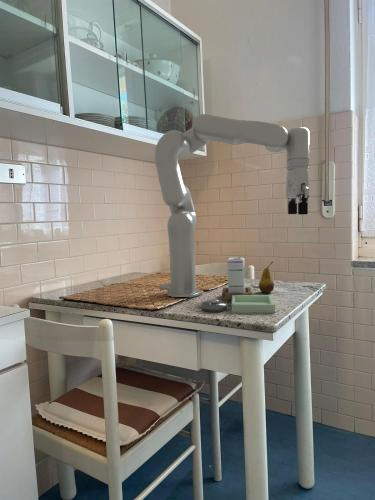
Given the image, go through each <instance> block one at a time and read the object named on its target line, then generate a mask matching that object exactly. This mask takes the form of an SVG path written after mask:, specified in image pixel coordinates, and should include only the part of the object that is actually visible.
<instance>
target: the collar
mask: <svg viewBox="0 0 375 500" xmlns="http://www.w3.org/2000/svg"><path fill="white" fill-rule="evenodd" d="M232 295H253V294H252V289H251V286H250V287H249V286H245V293H228V286H227V287H225V286H224V287H222V292H221V301H225V302H227V303H232Z"/></svg>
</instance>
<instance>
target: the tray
mask: <svg viewBox="0 0 375 500" xmlns="http://www.w3.org/2000/svg"><path fill="white" fill-rule="evenodd" d="M231 313H243V314H244V313H251V314H255V313H256V314H257V313H258V314H259V313H260V314H261V313H263V314H275V313H276V304H275V301H274V298H273V296H272V295H271V294H267V295H266V294H252V295H232V302H231Z"/></svg>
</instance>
